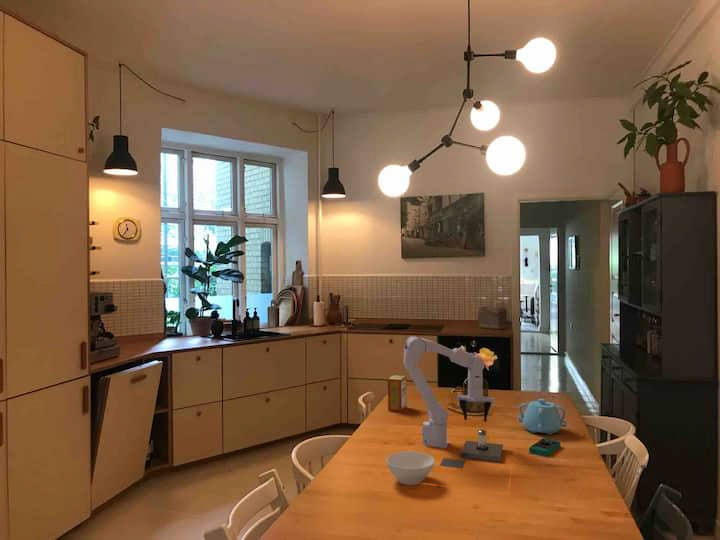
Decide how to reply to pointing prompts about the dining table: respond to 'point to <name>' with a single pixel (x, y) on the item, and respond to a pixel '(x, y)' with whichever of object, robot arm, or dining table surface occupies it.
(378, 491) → the dining table surface
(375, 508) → the dining table surface
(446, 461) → the key mat
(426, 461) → the bowl
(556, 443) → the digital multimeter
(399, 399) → the baking soda box
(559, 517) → the dining table surface
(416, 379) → the robot arm
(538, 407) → the decorative pot
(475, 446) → the chuck block
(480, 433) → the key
